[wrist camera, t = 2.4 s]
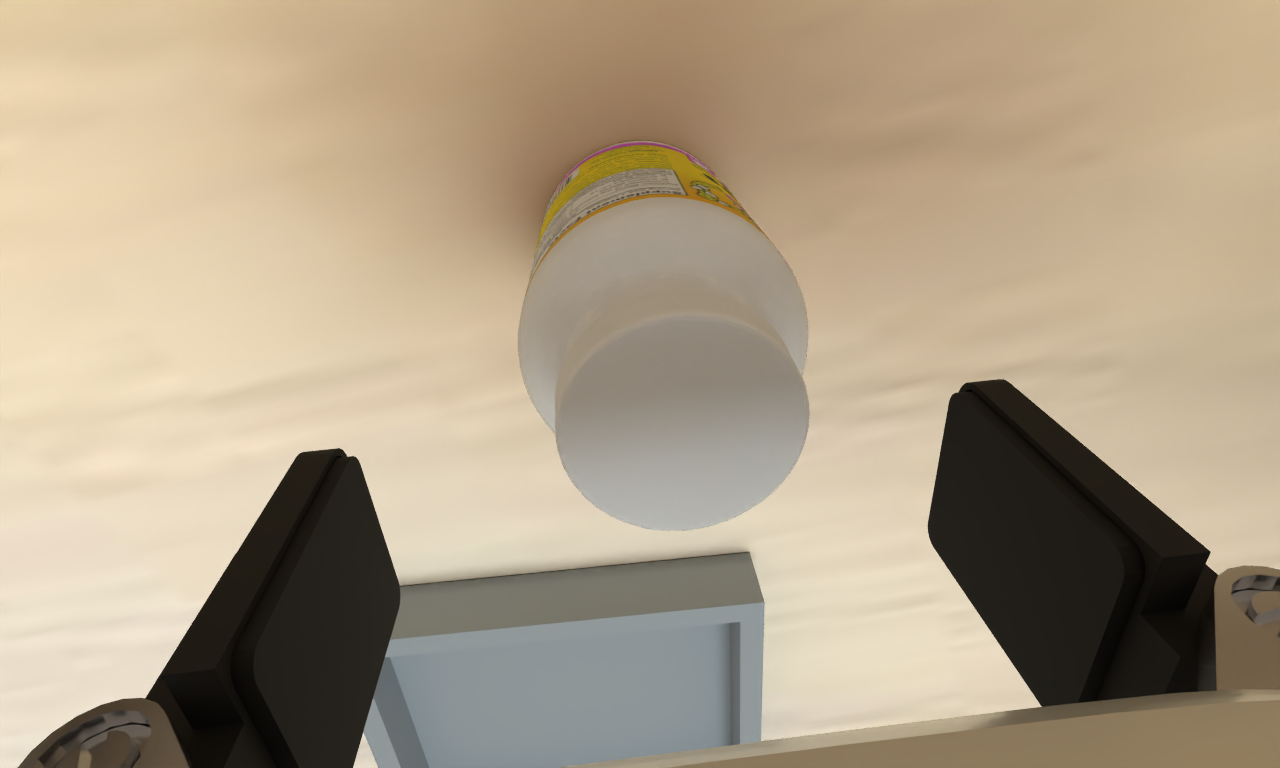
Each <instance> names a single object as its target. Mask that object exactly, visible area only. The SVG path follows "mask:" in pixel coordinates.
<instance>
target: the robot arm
mask: <svg viewBox="0 0 1280 768" xmlns="http://www.w3.org/2000/svg"><path fill="white" fill-rule="evenodd" d="M928 533H929V538H930V541H931V543H932V545H933V547H934V549H935V550H936V551H937V553H938V554H939V556H940V557H941V559H942V560H943V562H944V563H945V565H946V566H947V568H948V569H949V571H950V572H951V574H952V575H953V576H954V578H955V579H956V581H957V582H958V584H959V585H960V587H961V588H962V590H963V591H964V593H965V594H966V596H967V597H968V599H969V600H970V602H971V603H972V604H973V606H974V607H975V609H976V610H977V612H978V613H979V615H980V616H981V618H982V619H983V621H984V622H985V624H986V625H987V627H988V628H989V629H990V631H991V632H992V634H993V635H994V637H995V638H996V640H997V641H998V643H999V644H1000V646H1001V647H1002V649H1003V650H1004V652H1005V653H1006V655H1007V656H1008V657H1009V659H1010V660H1011V662H1012V663H1013V665H1014V666H1015V668H1016V669H1017V671H1018V672H1019V674H1020V675H1021V677H1022V678H1023V680H1024V681H1025V682H1026V684H1027V685H1028V687H1029V688H1030V690H1031V691H1032V693H1033V694H1034V696H1035V697H1036V699H1037V700H1038V702H1039V703H1040V705H1041V706H1042V707H1038V708H1029V709H1021V710H1013V711H1005V712H996V713H988V714H980V715H971V716H963V717H955V718H947V719H938V720H930V721H922V722H914V723H905V724H897V725H889V726H881V727H872V728H864V729H856V730H848V731H840V732H832V733H824V734H816V735H808V736H800V737H792V738H785V739H777V740H769V741H761V742H753V743H745V744H737V745H729V746H721V747H713V748H706V749H698V750H690V751H682V752H674V753H666V754H659V755H651V756H643V757H635V758H627V759H620V760H612V761H605V762H597V763H590V764H582V765H575V766H567V767H559V768H1280V570H1279V569H1274V568H1269V567H1263V566H1240V567H1235V568H1230V569H1227V570H1226V571H1224V572H1223V573H1221V574H1220V575H1217V574H1216V573H1215V572H1214V571H1213V570H1212V569H1210V568H1209V567H1208V566H1207V565H1206V561H1207V559H1208V557H1209V555H1210V551H1209V550H1208V549H1207V548H1205V547H1204V546H1203V545H1202V544H1201V543H1199V542H1198V541H1197V540H1196V539H1195V538H1193V537H1192V536H1191V535H1190V534H1189V533H1187V532H1186V531H1185V530H1184V529H1183V528H1182V527H1180V526H1179V525H1178V524H1177V523H1176V522H1174V521H1173V520H1172V519H1171V518H1170V517H1168V516H1167V515H1166V514H1165V513H1164V512H1163V511H1161V510H1160V509H1159V508H1158V507H1157V506H1155V505H1154V504H1153V503H1152V502H1151V501H1149V500H1148V499H1147V498H1146V497H1145V496H1143V495H1142V494H1141V493H1140V492H1139V491H1138V490H1136V489H1135V488H1134V487H1133V486H1132V485H1130V484H1129V483H1128V482H1127V481H1126V480H1124V479H1123V478H1122V477H1121V476H1120V475H1119V474H1117V473H1116V472H1115V471H1114V470H1113V469H1111V468H1110V467H1109V466H1108V465H1107V464H1105V463H1104V462H1103V461H1102V460H1101V459H1099V458H1098V457H1097V456H1096V455H1095V454H1094V453H1092V452H1091V451H1090V450H1089V449H1088V448H1086V447H1085V446H1084V445H1083V444H1082V443H1080V442H1079V441H1078V440H1077V439H1076V438H1075V437H1073V436H1072V435H1071V434H1070V433H1069V432H1067V431H1066V430H1065V429H1064V428H1063V427H1061V426H1060V425H1059V424H1058V423H1057V422H1055V421H1054V420H1053V419H1052V418H1051V417H1050V416H1048V415H1047V414H1046V413H1045V412H1044V411H1042V410H1041V409H1040V408H1039V407H1038V406H1036V405H1035V404H1034V403H1033V402H1032V401H1031V400H1029V399H1028V398H1027V397H1026V396H1025V395H1023V394H1022V393H1021V392H1020V391H1019V390H1017V389H1016V388H1015V387H1014V386H1013V385H1011V384H1010V383H1009V382H1007V381H1006V380H1001V379H998V380H989V381H979V382H970V383H966V384H964V385H963V386H962V387H961V389H960V391H959V393H955V394H953V395H952V396H951V398H950V401H949V406H948V412H947V418H946V423H945V429H944V435H943V440H942V446H941V452H940V457H939V463H938V469H937V475H936V480H935V486H934V492H933V497H932V503H931V509H930V515H929V520H928ZM399 606H400V586H399V582H398V579H397V576H396V573H395V570H394V567H393V564H392V560H391V557H390V554H389V551H388V548H387V545H386V542H385V539H384V536H383V533H382V530H381V527H380V524H379V521H378V517H377V514H376V511H375V508H374V505H373V502H372V499H371V496H370V493H369V490H368V487H367V484H366V481H365V478H364V474H363V471H362V468H361V465H360V463H359V461H358V459H357V458H356V457H354V456H351V457H347V455H346V454H345V452H344V451H343V450H342V449H339V448H338V449H328V450H319V451H309V452H302V453H300V454H299V455H298V456H297V457H296V459H295V460H294V462H293V463H292V465H291V467H290V468H289V470H288V471H287V473H286V475H285V476H284V478H283V479H282V481H281V483H280V484H279V486H278V487H277V489H276V491H275V492H274V494H273V495H272V497H271V499H270V500H269V502H268V503H267V505H266V507H265V508H264V510H263V511H262V513H261V515H260V516H259V518H258V520H257V521H256V523H255V524H254V526H253V528H252V529H251V531H250V532H249V534H248V536H247V537H246V539H245V540H244V542H243V544H242V545H241V547H240V548H239V550H238V552H237V553H236V554H235V556H234V557H233V559H232V560H231V562H230V564H229V565H228V567H227V569H226V570H225V572H224V573H223V575H222V577H221V578H220V580H219V581H218V583H217V585H216V586H215V588H214V589H213V591H212V593H211V594H210V596H209V597H208V599H207V601H206V602H205V604H204V605H203V607H202V609H201V610H200V612H199V613H198V615H197V617H196V618H195V620H194V621H193V623H192V625H191V626H190V628H189V629H188V631H187V633H186V634H185V636H184V637H183V639H182V641H181V642H180V644H179V645H178V647H177V649H176V650H175V652H174V653H173V655H172V657H171V658H170V660H169V661H168V663H167V665H166V666H165V668H164V669H163V671H162V673H161V674H160V676H159V677H158V679H157V681H156V682H155V684H154V685H153V687H152V689H151V690H150V692H149V693H148V695H147V697H146V698H145V699H144V698H132V699H121V700H118V701H114V702H110V703H107V704H103V705H100V706H98V707H96V708H94V709H92V710H90V711H87V712H85V713H83V714H81V715H79V716H77V717H75V718H74V719H72V720H71V721H69V722H68V723H66V724H65V725H63V726H62V727H60V728H59V729H57V730H56V731H54V732H53V733H51V734H50V735H49V736H48V737H47V738H46V739H45V740H43V741H42V742H41V743H40V744H39V745H38V746H37V747H36V748H34V749H33V750H32V751H31V752H30V753H29V755H28V756H27V757H26V758H25V760H24V761H23V762H22V763H21V764H20V766H19V767H18V768H353V765H354V762H355V758H356V755H357V751H358V748H359V745H360V741H361V738H362V734H363V731H364V727H365V724H366V721H367V717H368V714H369V710H370V707H371V703H372V700H373V697H374V693H375V690H376V686H377V683H378V679H379V676H380V673H381V669H382V666H383V662H384V659H385V655H386V652H387V648H388V645H389V642H390V638H391V635H392V631H393V628H394V624H395V621H396V618H397V614H398V611H399Z"/></svg>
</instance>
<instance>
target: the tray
mask: <svg viewBox="0 0 1280 768" xmlns="http://www.w3.org/2000/svg"><path fill="white" fill-rule="evenodd" d="M763 637H764V599H763V596H762V593H761V589H760V586H759V582H758V579H757V576H756V572H755V569H754V566H753V562H752V559H751V556H750V552H747V553H737V554H727V555H717V556H707V557H696V558H686V559H676V560H666V561H656V562H645V563H635V564H625V565H615V566H605V567H594V568H584V569H574V570H564V571H554V572H544V573H533V574H523V575H513V576H503V577H493V578H482V579H472V580H462V581H452V582H442V583H431V584H421V585H411V586H401V587H400V606H399V611H398V614H397V618H396V621H395V624H394V628H393V631H392V635H391V638H390V642H389V645H388V648H387V652H386V655H385V659H384V662H383V666H382V669H381V673H380V676H379V679H378V683H377V686H376V690H375V693H374V697H373V700H372V703H371V707H370V710H369V714H368V717H367V721H366V724H365V727H364V731H363V732H364V734H365V736H366V739H367V741H368V744H369V746H370V748H371V751H372V753H373V756H374V758H375V760H376V763H377V765H378V768H559V767H567V766H575V765H582V764H590V763H597V762H605V761H612V760H620V759H627V758H635V757H643V756H651V755H659V754H666V753H674V752H682V751H690V750H698V749H706V748H713V747H721V746H729V745H737V744H745V743H753V742H761V711H762V674H763Z"/></svg>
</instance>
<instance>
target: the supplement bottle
mask: <svg viewBox="0 0 1280 768" xmlns="http://www.w3.org/2000/svg"><path fill="white" fill-rule="evenodd" d="M807 346H808V321H807V313H806V307H805V303H804V300H803V296H802V293H801V290H800V288H799V285H798V283H797V280H796V278H795V276H794V274H793V272H792V270H791V268H790V267H789V265H788V264H787V262H786V261H785V259H784V258H783V256H782V255H781V254H780V252H779V251H778V249H777V248H776V247H775V246H774V245H773V243H772V242H771V241H770V240H769V239H768V237H767V236H766V235H765V234H764V233H763V232H762V230H761V229H760V228H759V227H758V226H757V224H756V223H755V222H754V221H753V220H752V219H751V217H750V216H749V215H748V214H747V212H746V211H745V210H744V209H743V207H742V206H741V204H740V203H739V202H738V201H737V200H736V199H735V198H734V196H733V195H732V194H731V193H730V192H729V190H728V189H727V188H726V186H725V185H724V184H723V183H722V182H721V181H720V180H719V178H718V177H717V176H716V175H715V174H714V173H713V172H712V171H711V170H710V169H709V168H708V167H707V166H705V165H704V164H703V163H702V162H701V161H699V160H698V159H696V158H695V157H694V156H692V155H691V154H689V153H687V152H685V151H683V150H681V149H679V148H676V147H674V146H671V145H667V144H664V143H659V142H653V141H630V142H623V143H618V144H614V145H611V146H609V147H606V148H603V149H601V150H599V151H597V152H595V153H593V154H591V155H589V156H588V157H586V158H585V159H583V160H582V161H581V162H579V163H578V164H577V165H576V166H575V167H573V168H572V169H571V170H570V171H569V172H568V174H567V175H566V176H565V177H564V178H563V180H562V181H561V182H560V183H559V185H558V187H557V188H556V190H555V192H554V193H553V195H552V197H551V199H550V202H549V204H548V206H547V209H546V212H545V215H544V219H543V223H542V227H541V231H540V235H539V240H538V244H537V249H536V253H535V257H534V262H533V267H532V271H531V275H530V279H529V283H528V287H527V291H526V295H525V299H524V303H523V307H522V313H521V317H520V323H519V331H518V352H519V361H520V368H521V372H522V376H523V380H524V383H525V386H526V389H527V391H528V394H529V396H530V398H531V400H532V402H533V404H534V406H535V408H536V409H537V411H538V413H539V414H540V416H541V417H542V419H543V420H544V421H545V423H546V424H547V425H548V426H549V427H550V428H551V430H552V431H553V432H554V433H555V435H556V442H557V448H558V452H559V455H560V458H561V461H562V464H563V467H564V469H565V470H566V472H567V474H568V476H569V477H570V479H571V481H572V482H573V484H574V485H575V486H576V488H577V489H578V490H579V491H580V492H581V493H582V495H583V496H584V497H585V498H586V499H587V500H589V501H590V502H591V503H592V504H593V505H595V506H596V507H597V508H599V509H600V510H602V511H603V512H605V513H607V514H608V515H610V516H612V517H614V518H616V519H619V520H621V521H623V522H626V523H629V524H632V525H635V526H639V527H642V528H646V529H652V530H663V531H685V530H692V529H699V528H704V527H708V526H712V525H715V524H718V523H721V522H725V521H727V520H729V519H732V518H734V517H736V516H738V515H740V514H742V513H744V512H746V511H747V510H749V509H751V508H752V507H754V506H755V505H757V504H759V503H760V502H762V501H763V500H764V499H765V498H767V497H768V496H769V495H770V494H771V493H772V492H773V491H774V490H775V489H776V488H777V487H778V486H779V485H780V484H781V483H782V482H783V481H784V480H785V478H786V477H787V476H788V474H789V473H790V472H791V470H792V469H793V467H794V465H795V463H796V462H797V460H798V458H799V456H800V453H801V451H802V449H803V446H804V443H805V439H806V435H807V431H808V426H809V403H808V396H807V391H806V387H805V383H804V381H803V378H802V373H803V369H804V365H805V361H806V356H807Z"/></svg>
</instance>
